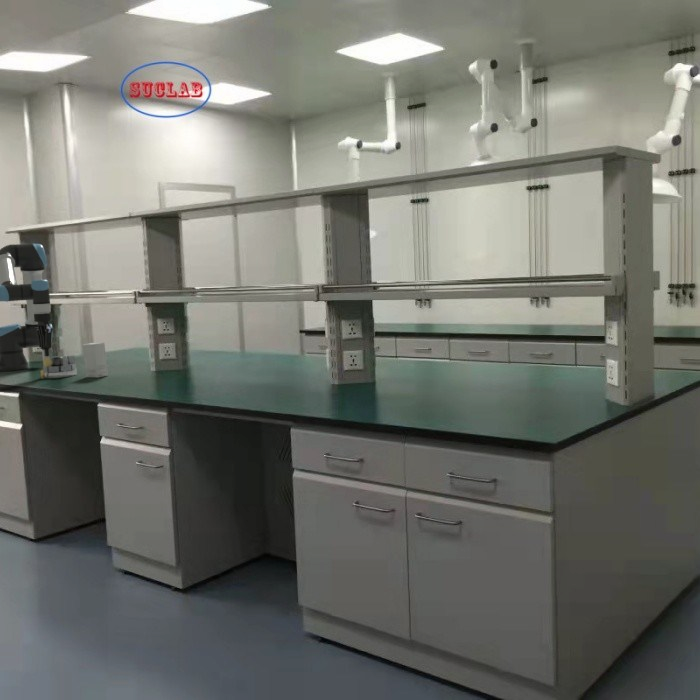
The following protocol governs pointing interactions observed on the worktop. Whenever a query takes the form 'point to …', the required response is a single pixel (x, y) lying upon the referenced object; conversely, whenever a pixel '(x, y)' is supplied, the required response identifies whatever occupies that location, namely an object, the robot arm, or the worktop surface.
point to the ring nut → (66, 365)
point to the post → (42, 374)
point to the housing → (59, 374)
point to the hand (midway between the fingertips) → (46, 362)
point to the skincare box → (95, 360)
